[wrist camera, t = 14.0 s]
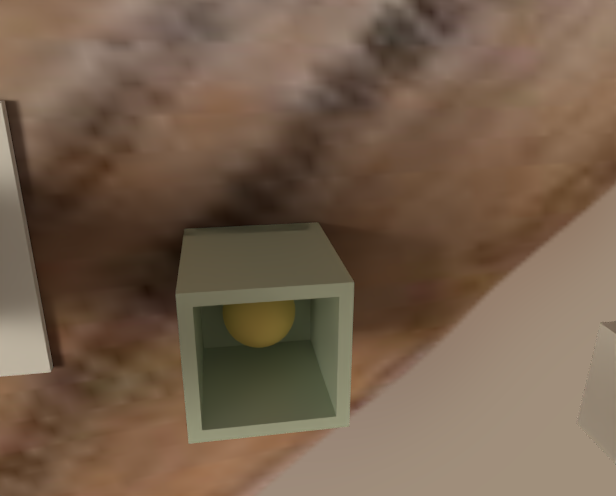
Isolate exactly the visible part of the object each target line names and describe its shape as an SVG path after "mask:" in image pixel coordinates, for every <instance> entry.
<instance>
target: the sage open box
mask: <svg viewBox="0 0 616 496" xmlns="http://www.w3.org/2000/svg"><path fill="white" fill-rule="evenodd" d="M175 295H176V306H177V318H178V329H179V340H180V352H181V363H182V374H183V385H184V397H185V408H186V419H187V431H188V442H189V444H190V443H199V442H209V441H218V440H227V439H237V438H246V437H255V436H265V435H274V434H283V433H293V432H302V431H311V430H321V429H330V428H339V427H348V426H349V420H350V391H351V363H352V334H353V306H354V281H353V279H352V277H351V276H350V274H349V273H348V271H347V269H346V268H345V266H344V264H343V263H342V261H341V259H340V258H339V256H338V254H337V253H336V251H335V249H334V248H333V246H332V244H331V243H330V241H329V239H328V238H327V236H326V234H325V233H324V231H323V230H322V228H321V226H320V225H319V223H318V222H314V223H293V224H272V225H251V226H230V227H209V228H188V229H184V236H183V243H182V250H181V257H180V264H179V272H178V279H177V286H176V293H175ZM285 300H294V303H295V318H294V322H293V325H292V327H291V329H290V331H289V332H288V334H287V335H286V336H285V337H284V338H283V339H282V340H280V341H279V342H277V343H276V344H274V345H271V346H268V347H263V348H254V347H249V346H246V345H244V344H242V343H240V342H238V341H237V340H236V339H234V338H233V337H232V336H231V334H230V333H229V332H228V330H227V328H226V326H225V324H224V320H223V314H222V312H223V305H228V304H242V303H257V302H271V301H285Z"/></svg>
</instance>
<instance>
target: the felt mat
mask: <svg viewBox="0 0 616 496" xmlns="http://www.w3.org/2000/svg"><path fill="white" fill-rule="evenodd" d="M52 369H53V363H52V357H51V352H50V346H49V341H48V335H47V330H46V324H45V319H44V313H43V308H42V302H41V297H40V291H39V286H38V280H37V275H36V269H35V264H34V258H33V253H32V248H31V242H30V237H29V231H28V226H27V220H26V215H25V209H24V204H23V198H22V193H21V187H20V182H19V176H18V171H17V165H16V160H15V154H14V149H13V143H12V138H11V132H10V127H9V121H8V116H7V110H6V105H5V100H1V101H0V376H12V375H24V374H35V373H47V372H51V371H52Z"/></svg>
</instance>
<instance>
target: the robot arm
mask: <svg viewBox="0 0 616 496" xmlns="http://www.w3.org/2000/svg"><path fill="white" fill-rule="evenodd" d="M577 425H578V426H580V428H581V429H582V430H583V431H584V432H585V433H586V434H587V435H588V436H589V437H590V438H591V439H592V440H593V441H594V442H595V443H596V445H597V446H598V447H599V448H600V449H601V450H603V452H604V453H605V454H606V455H607V456H608V457H609V458H610V459H611V460H612V461H613V462H614V463H615V465H616V322H602V323H600V326H599V330H598V335H597V339H596V343H595V347H594V351H593V355H592V360H591V364H590V368H589V372H588V376H587V380H586V385H585V389H584V393H583V398H582V402H581V406H580V410H579V415H578V418H577Z"/></svg>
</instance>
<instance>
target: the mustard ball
mask: <svg viewBox="0 0 616 496" xmlns="http://www.w3.org/2000/svg"><path fill="white" fill-rule="evenodd" d="M222 314H223V320H224V324H225V326H226V328H227V330H228V332H229V333H230V334H231V336H232V337H233V338H234V339H236V340H237V341H238V342H240V343H242V344H244V345H246V346H249V347H254V348H263V347H268V346H271V345H274V344H276V343H277V342H279V341H280V340H282V339H283V338H284V337H285V336H286V335H287V334H288V332H289V331H290V329H291V327H292V325H293V322H294V318H295V303H294V300H285V301H271V302H257V303H242V304H228V305H223V312H222Z"/></svg>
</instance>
